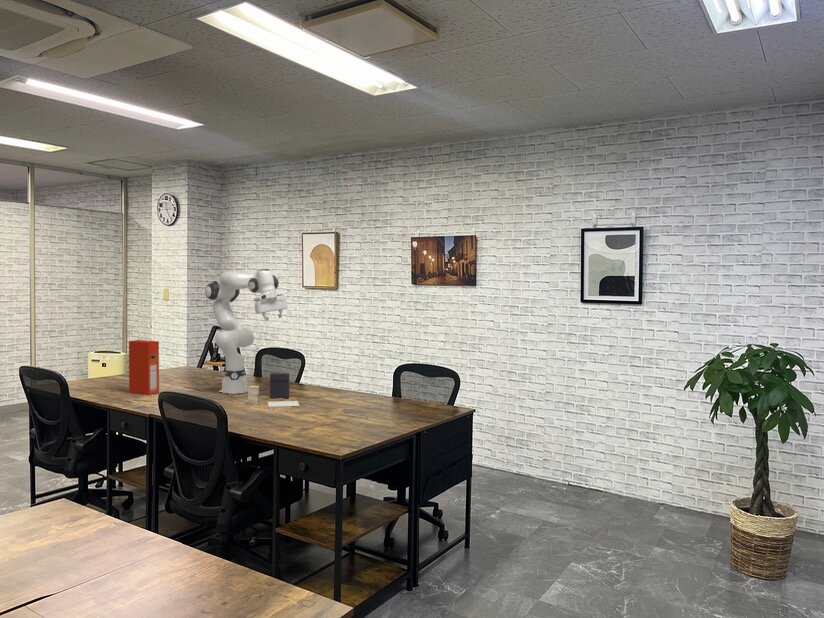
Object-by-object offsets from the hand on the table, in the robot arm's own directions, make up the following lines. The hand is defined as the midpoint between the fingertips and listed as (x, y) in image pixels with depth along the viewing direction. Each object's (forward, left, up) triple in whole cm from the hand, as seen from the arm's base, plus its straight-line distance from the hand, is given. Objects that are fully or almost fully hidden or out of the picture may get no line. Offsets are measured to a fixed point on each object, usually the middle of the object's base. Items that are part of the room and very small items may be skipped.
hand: (273, 318), depth 374 cm
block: (+11, -11, -48) cm, 51 cm away
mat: (+14, +6, -48) cm, 50 cm away
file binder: (-34, -77, -48) cm, 97 cm away
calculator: (-6, +4, -48) cm, 49 cm away
